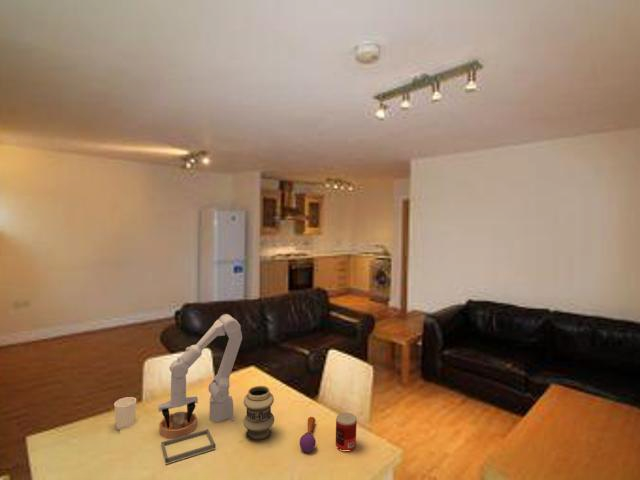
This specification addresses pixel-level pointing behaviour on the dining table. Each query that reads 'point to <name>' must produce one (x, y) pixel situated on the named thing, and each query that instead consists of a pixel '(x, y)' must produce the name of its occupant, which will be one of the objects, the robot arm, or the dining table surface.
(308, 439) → the purple maraca
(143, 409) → the dining table surface
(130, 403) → the white cup
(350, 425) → the canned food
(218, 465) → the dining table surface
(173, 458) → the charcoal tray
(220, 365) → the robot arm
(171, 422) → the orange shallow faceted dish
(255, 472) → the dining table surface
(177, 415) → the taupe rounded cylinder
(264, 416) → the apothecary jar
